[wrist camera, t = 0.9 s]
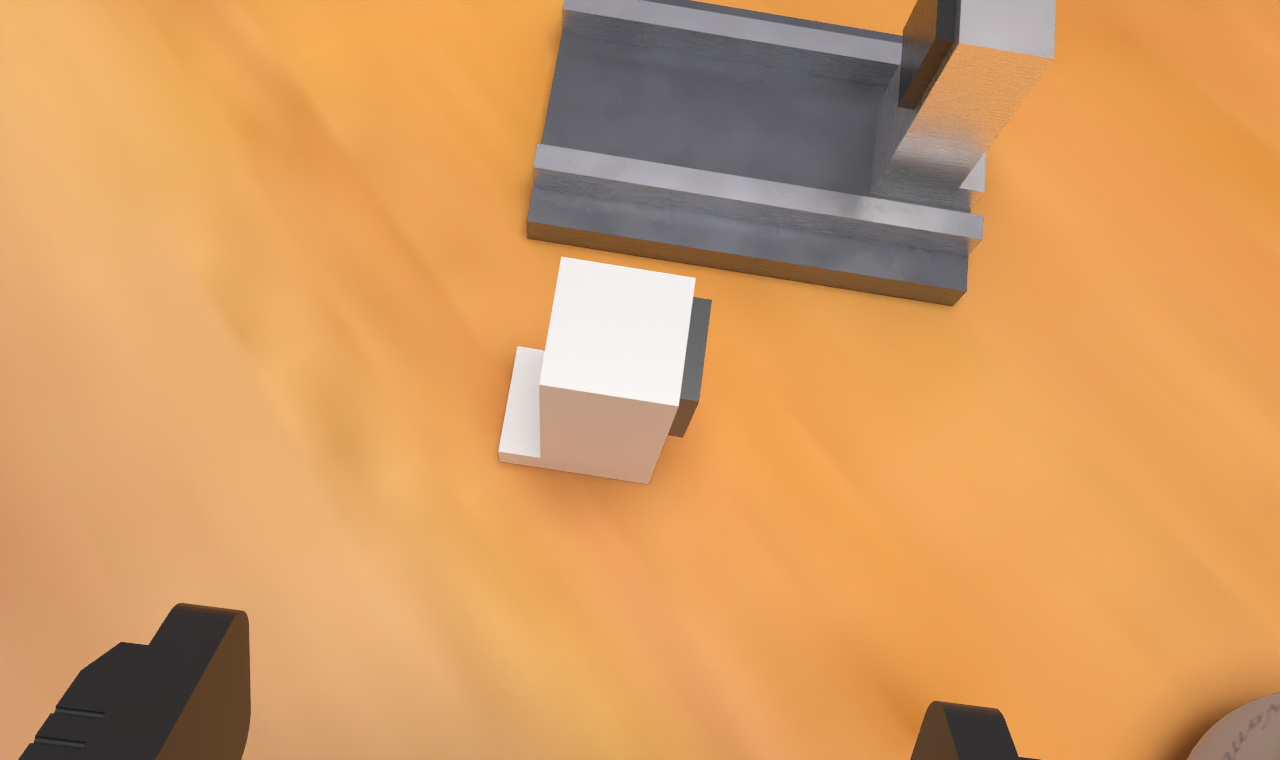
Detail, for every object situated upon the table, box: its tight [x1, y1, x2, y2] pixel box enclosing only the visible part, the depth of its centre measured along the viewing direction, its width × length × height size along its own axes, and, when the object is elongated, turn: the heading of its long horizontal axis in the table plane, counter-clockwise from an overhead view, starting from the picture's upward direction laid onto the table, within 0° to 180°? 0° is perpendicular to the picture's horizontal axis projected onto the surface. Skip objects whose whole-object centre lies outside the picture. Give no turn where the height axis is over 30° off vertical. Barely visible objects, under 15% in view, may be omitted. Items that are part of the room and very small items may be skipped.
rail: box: [527, 0, 1055, 306], centre depth 41 cm, size 17×11×12 cm, turn 82°
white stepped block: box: [498, 257, 712, 484], centre depth 37 cm, size 6×4×10 cm, turn 82°
